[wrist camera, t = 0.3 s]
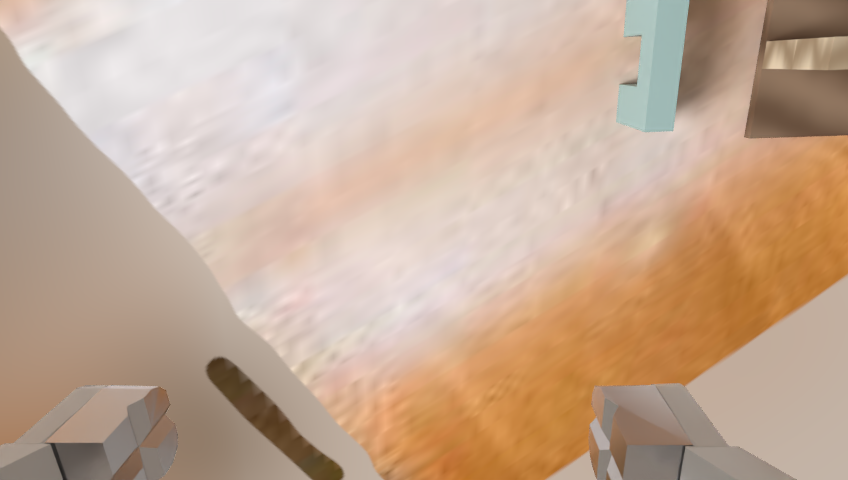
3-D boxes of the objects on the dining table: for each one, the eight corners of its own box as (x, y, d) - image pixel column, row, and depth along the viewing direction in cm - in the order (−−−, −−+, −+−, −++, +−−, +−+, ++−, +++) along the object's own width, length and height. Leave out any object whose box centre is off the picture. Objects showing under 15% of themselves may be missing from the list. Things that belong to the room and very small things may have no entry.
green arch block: (627, -6, 48) (660, -18, 41) (653, -7, 48) (691, -19, 40) (616, 121, 52) (644, 132, 45) (640, 121, 52) (673, 131, 44)
